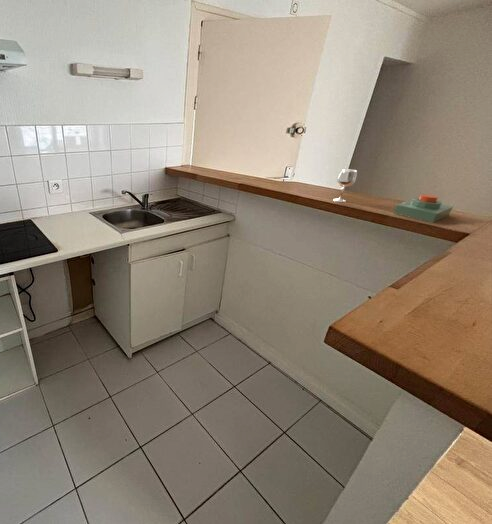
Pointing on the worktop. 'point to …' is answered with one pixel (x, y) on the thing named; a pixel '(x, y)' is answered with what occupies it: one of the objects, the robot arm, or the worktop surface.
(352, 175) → the wineglass
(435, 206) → the green button base
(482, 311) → the worktop surface
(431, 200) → the release button
